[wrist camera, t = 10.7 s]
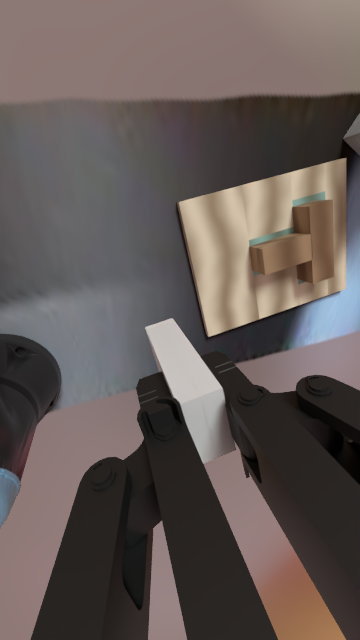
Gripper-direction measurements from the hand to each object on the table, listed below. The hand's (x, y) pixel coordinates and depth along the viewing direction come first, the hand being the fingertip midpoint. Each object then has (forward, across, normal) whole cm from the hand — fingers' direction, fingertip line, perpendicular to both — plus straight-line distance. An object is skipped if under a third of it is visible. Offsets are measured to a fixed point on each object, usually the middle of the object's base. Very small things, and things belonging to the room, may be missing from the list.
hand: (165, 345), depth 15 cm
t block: (+28, +26, -5) cm, 39 cm away
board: (+29, +24, -5) cm, 38 cm away
